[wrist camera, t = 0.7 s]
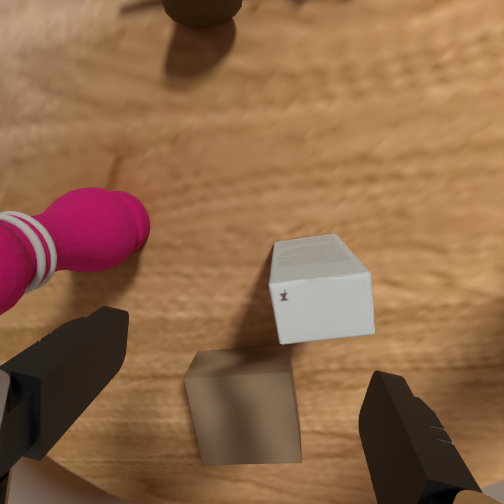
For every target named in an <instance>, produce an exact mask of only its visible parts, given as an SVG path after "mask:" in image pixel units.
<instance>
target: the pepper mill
mask: <svg viewBox="0 0 504 504" xmlns="http://www.w3.org/2000/svg"><path fill="white" fill-rule="evenodd" d="M149 231H150V221H149V216H148V214H147V211H146V209H145V208H144V206H143V205H142V203H141V202H140V201H139V200H138V199H137V198H135V197H134V196H132V195H130V194H128V193H126V192H121V191H107V190H105V189H100V188H94V187H88V188H82V189H77V190H73V191H70V192H68V193H66V194H64V195H63V196H61V197H59V198H58V199H57V200H55V201H54V202H53V203H52V204H51V205H50V206H49V207H48V208H47V209H46V210H45V212H43V213H42V214H39V215H35V216H28V215H26V214H23V213H20V212H13V211H11V212H2V213H0V315H1V314H3V313H5V312H6V311H7V310H9V309H10V308H12V307H13V306H15V304H16V303H17V302H18V301H19V299H20V298H21V297H22V296H23V295H24V294H26V293H28V292H30V291H32V290H33V289H37V288H39V287H41V286H43V285H44V284H46V283H47V282H48V281H49V280H50V279H51V277H52V276H53V274H54V272H56V271H58V270H71V271H79V272H98V271H104V270H107V269H110V268H113V267H116V266H118V265H119V264H121V263H122V262H124V261H125V260H126V259H127V258H128V257H129V256H130V255H131V253H132V252H133V251H135V250H137V249H139V248H140V247H141V246H142V245H143V244H144V243H145V241H146V239H147V238H148V235H149Z"/></svg>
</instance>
